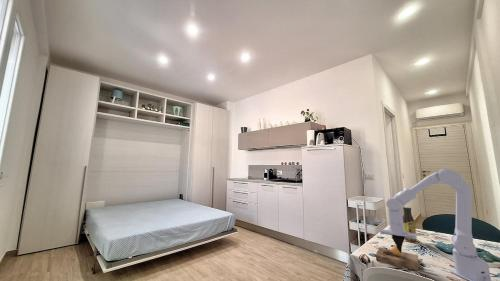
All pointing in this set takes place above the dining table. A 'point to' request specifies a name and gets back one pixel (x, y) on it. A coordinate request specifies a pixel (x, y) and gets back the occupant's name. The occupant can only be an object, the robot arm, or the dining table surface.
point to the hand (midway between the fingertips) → (399, 251)
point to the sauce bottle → (409, 223)
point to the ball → (395, 251)
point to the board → (397, 258)
